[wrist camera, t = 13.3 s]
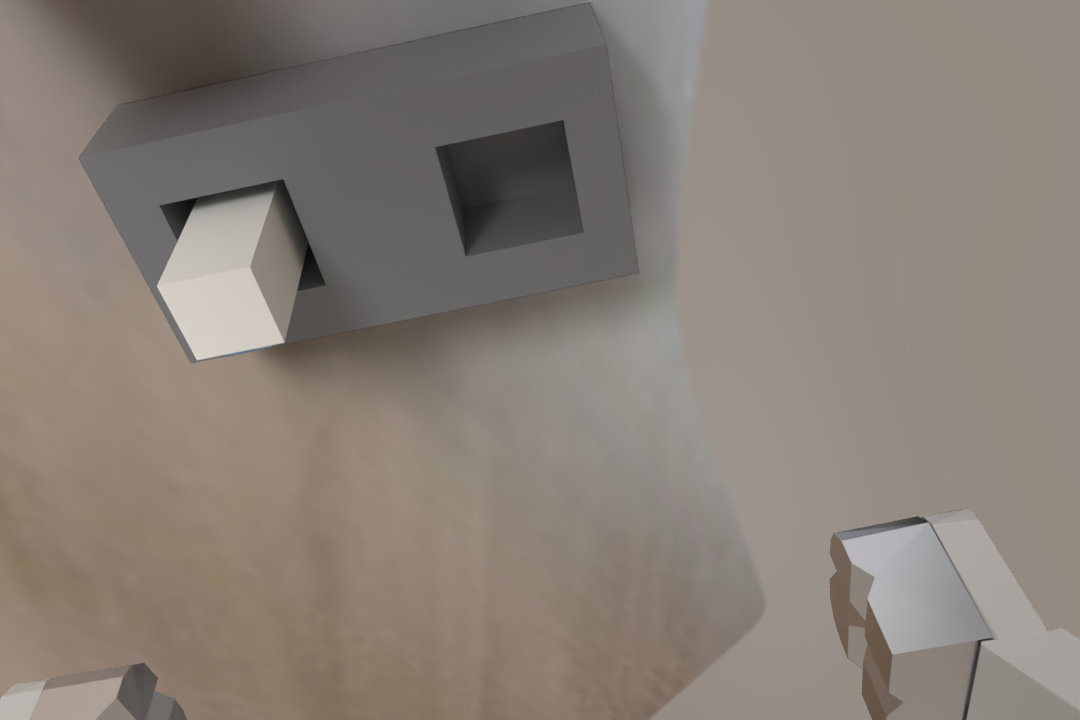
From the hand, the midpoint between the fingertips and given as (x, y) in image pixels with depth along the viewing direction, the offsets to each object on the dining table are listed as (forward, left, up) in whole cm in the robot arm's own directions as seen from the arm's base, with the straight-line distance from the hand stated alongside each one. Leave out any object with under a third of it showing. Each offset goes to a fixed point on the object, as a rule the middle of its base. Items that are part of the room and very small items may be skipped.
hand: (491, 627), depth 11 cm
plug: (+8, -11, -30) cm, 33 cm away
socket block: (+8, -5, -31) cm, 33 cm away
